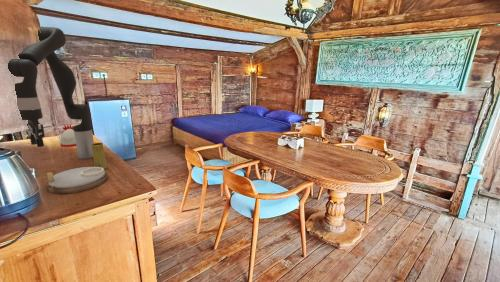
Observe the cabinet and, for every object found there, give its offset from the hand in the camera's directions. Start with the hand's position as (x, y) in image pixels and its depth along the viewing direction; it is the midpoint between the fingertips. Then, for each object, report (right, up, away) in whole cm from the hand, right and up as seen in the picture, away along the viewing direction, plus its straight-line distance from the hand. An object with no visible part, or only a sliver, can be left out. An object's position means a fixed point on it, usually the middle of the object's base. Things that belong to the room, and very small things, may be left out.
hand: (37, 145), depth 105 cm
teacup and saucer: (-52, +3, +82) cm, 97 cm away
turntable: (+12, -16, +8) cm, 22 cm away
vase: (+12, -14, +26) cm, 32 cm away
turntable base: (+12, -18, +9) cm, 24 cm away
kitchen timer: (-37, -1, +69) cm, 78 cm away
